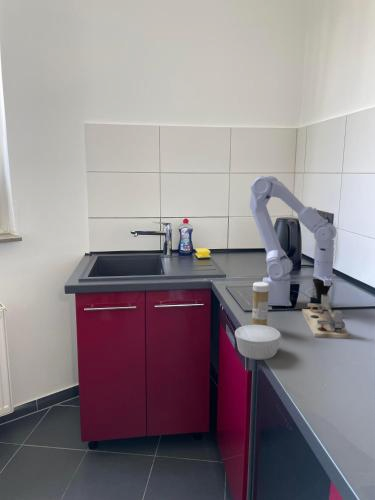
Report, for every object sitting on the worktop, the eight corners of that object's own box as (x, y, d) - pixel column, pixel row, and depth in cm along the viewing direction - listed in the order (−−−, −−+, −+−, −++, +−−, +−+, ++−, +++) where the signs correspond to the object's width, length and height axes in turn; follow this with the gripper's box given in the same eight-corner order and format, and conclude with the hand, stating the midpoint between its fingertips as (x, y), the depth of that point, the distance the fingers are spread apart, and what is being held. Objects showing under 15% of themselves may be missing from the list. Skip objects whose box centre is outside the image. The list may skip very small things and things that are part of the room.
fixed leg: (318, 330, 110) (319, 312, 109) (316, 326, 113) (317, 309, 112) (344, 331, 109) (345, 313, 108) (341, 327, 112) (342, 309, 111)
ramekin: (225, 351, 100) (226, 332, 99) (252, 339, 107) (252, 320, 106) (262, 367, 92) (263, 346, 91) (288, 352, 100) (289, 332, 99)
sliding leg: (308, 311, 124) (309, 296, 123) (306, 308, 127) (307, 293, 126) (330, 312, 124) (332, 296, 123) (328, 309, 126) (329, 294, 125)
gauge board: (314, 336, 109) (315, 329, 108) (302, 311, 128) (302, 306, 128) (348, 338, 108) (349, 331, 107) (330, 312, 127) (330, 307, 127)
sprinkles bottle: (249, 325, 117) (251, 281, 114) (264, 324, 117) (266, 281, 115) (254, 331, 112) (255, 286, 110) (269, 330, 113) (271, 285, 110)
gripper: (342, 266, 120) (339, 308, 122) (330, 256, 134) (328, 294, 136) (318, 265, 120) (316, 308, 123) (309, 256, 135) (307, 294, 137)
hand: (321, 301), depth 130 cm, fingers closed
